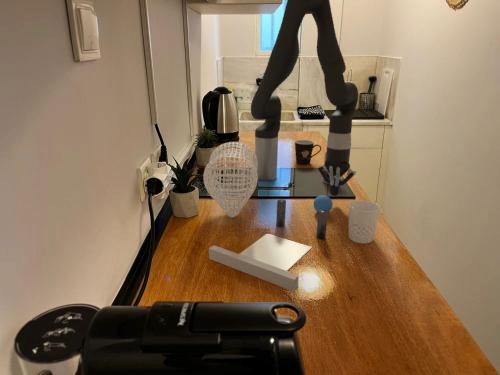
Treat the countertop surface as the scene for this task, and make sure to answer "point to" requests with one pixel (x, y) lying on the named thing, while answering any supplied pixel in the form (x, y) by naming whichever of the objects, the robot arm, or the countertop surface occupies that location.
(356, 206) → the white cup
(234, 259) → the stopper wall
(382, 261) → the countertop surface
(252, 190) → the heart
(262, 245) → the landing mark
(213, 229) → the countertop surface
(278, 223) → the left post
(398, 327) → the countertop surface
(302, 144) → the coffee mug
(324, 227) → the right post
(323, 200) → the ball
